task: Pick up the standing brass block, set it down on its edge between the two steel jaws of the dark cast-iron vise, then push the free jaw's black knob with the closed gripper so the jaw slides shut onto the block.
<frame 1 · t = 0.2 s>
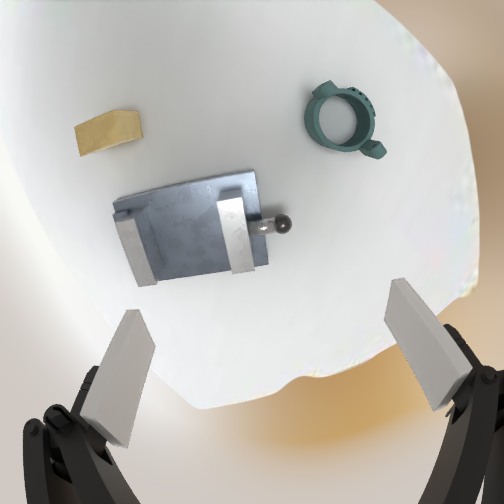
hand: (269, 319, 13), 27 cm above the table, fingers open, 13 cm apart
free jaw: (258, 227, 36), point 4 cm above the table, slide at 0.0 cm
vise: (191, 228, 40), on the table
bracket: (334, 118, 34), on the table
brass block: (122, 130, 33), on the table
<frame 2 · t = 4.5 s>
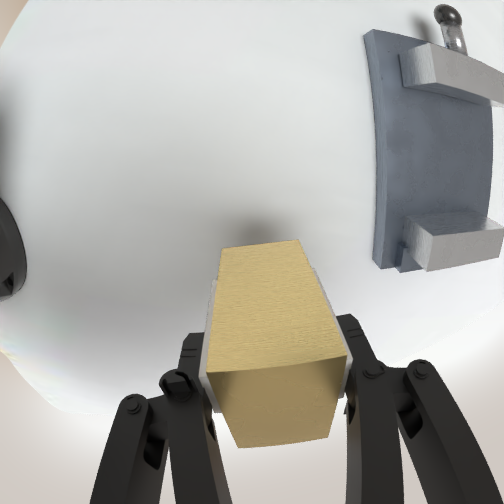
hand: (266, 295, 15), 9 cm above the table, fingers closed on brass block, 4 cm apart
free jaw: (455, 47, 11), point 4 cm above the table, slide at 0.0 cm
vise: (437, 152, 20), on the table
brass block: (265, 291, 15), point 9 cm above the table, touching gripper
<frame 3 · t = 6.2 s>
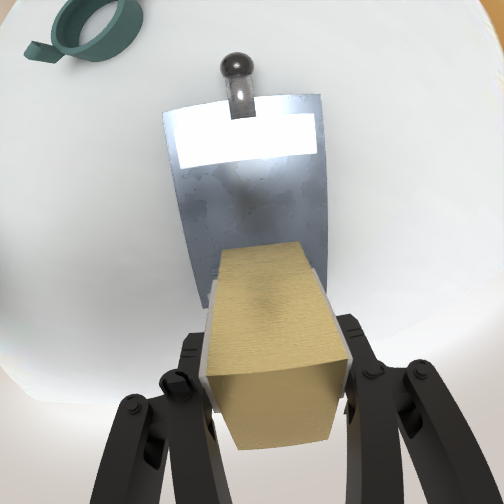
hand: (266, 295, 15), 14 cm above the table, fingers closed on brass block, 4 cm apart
free jaw: (241, 102, 19), point 4 cm above the table, slide at 0.0 cm
vise: (253, 205, 27), on the table
bracket: (106, 27, 17), on the table
brass block: (265, 293, 15), point 13 cm above the table, touching gripper
when the fingers open (2 cm above the table, at t = 8.0 s): brass block stays where it is, resting on vise.
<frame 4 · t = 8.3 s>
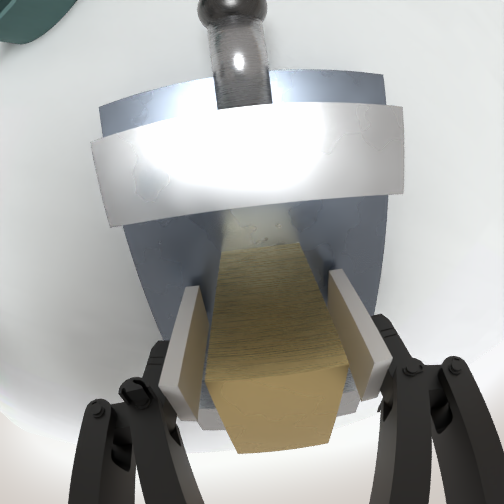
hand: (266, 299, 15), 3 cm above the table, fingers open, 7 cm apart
free jaw: (241, 75, 8), point 4 cm above the table, slide at 0.0 cm
vise: (261, 261, 17), on the table
brass block: (265, 295, 15), point 2 cm above the table, touching vise
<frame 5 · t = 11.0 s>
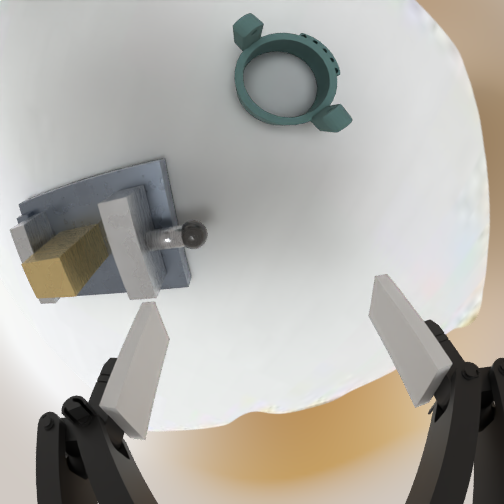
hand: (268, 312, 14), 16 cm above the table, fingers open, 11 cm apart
free jaw: (161, 238, 24), point 4 cm above the table, slide at 0.0 cm
vise: (97, 235, 29), on the table
bracket: (282, 83, 23), on the table
brass block: (83, 243, 27), point 2 cm above the table, touching vise
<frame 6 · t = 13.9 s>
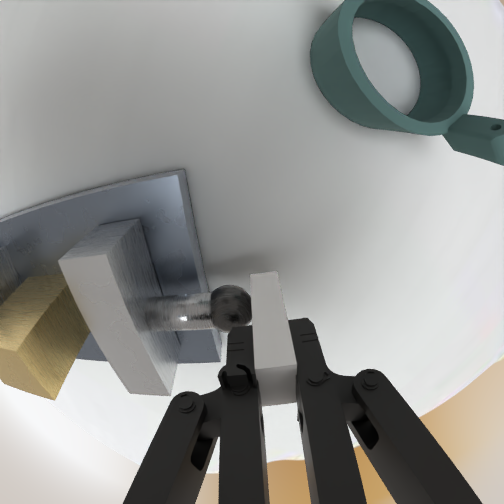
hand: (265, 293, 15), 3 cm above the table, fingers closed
free jaw: (174, 313, 14), point 4 cm above the table, slide at 0.6 cm, touching gripper
vise: (81, 282, 18), on the table
bracket: (376, 65, 13), on the table
brass block: (60, 297, 17), point 2 cm above the table, touching vise
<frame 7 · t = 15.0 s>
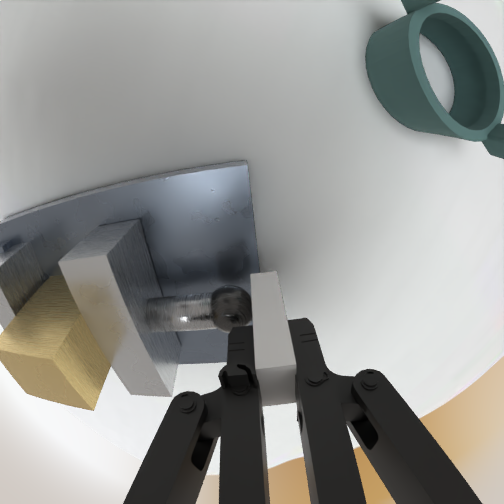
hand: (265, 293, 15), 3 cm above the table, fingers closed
free jaw: (175, 313, 14), point 4 cm above the table, slide at 4.3 cm, touching brass block, gripper
vise: (118, 280, 18), on the table
bracket: (419, 73, 13), on the table
brass block: (88, 297, 17), point 2 cm above the table, touching free jaw, vise
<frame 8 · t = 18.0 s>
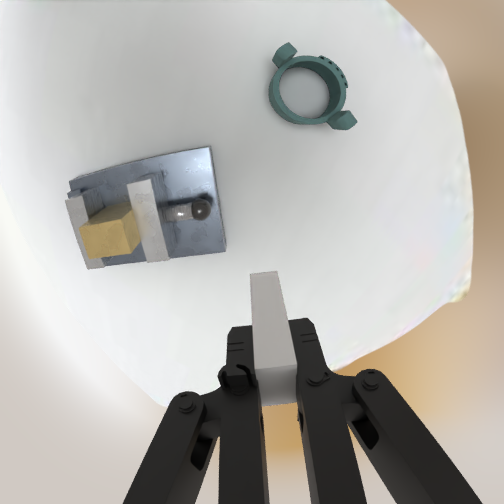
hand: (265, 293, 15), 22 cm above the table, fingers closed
free jaw: (175, 213, 32), point 4 cm above the table, slide at 4.3 cm, touching brass block
vise: (145, 209, 36), on the table
bracket: (303, 92, 30), on the table
brass block: (129, 216, 34), point 2 cm above the table, touching free jaw, vise
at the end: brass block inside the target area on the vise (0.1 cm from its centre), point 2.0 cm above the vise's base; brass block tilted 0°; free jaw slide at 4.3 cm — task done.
